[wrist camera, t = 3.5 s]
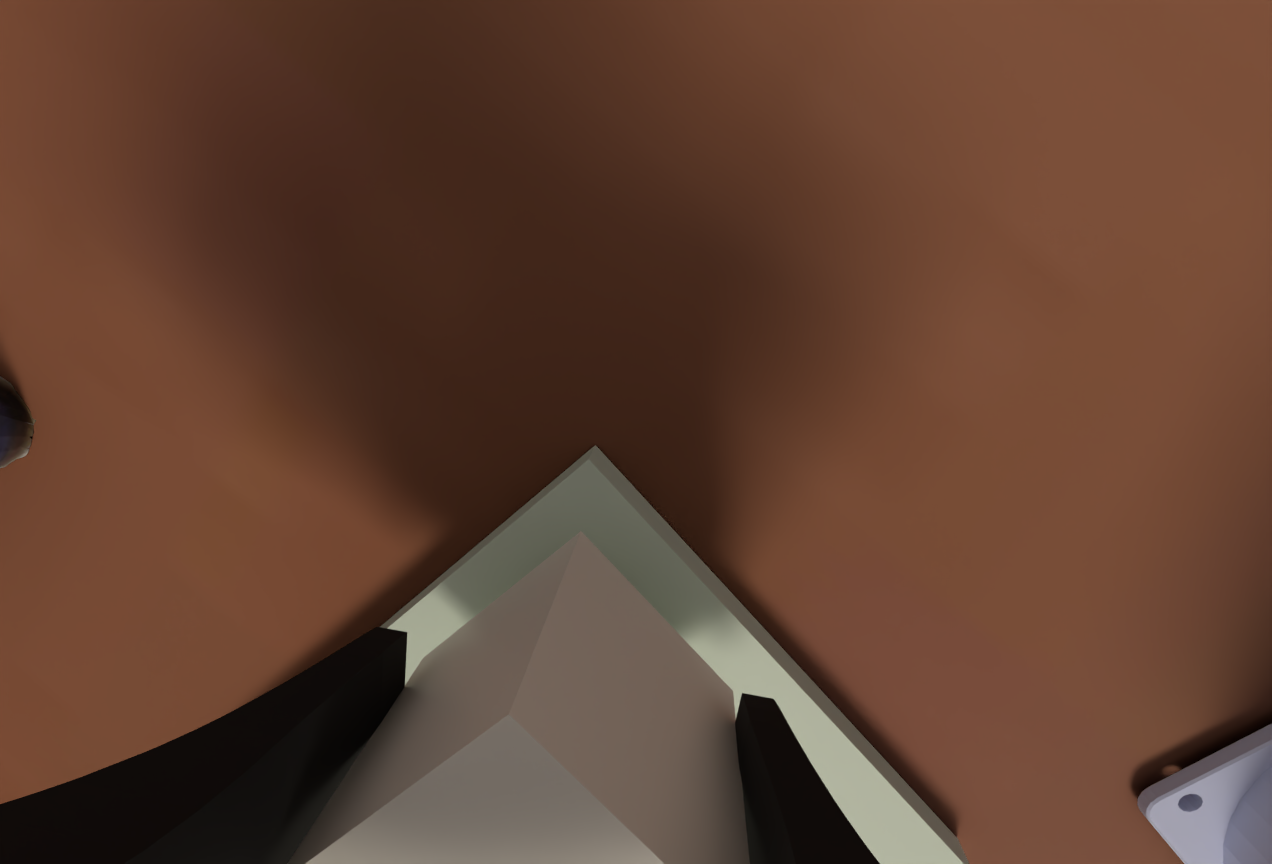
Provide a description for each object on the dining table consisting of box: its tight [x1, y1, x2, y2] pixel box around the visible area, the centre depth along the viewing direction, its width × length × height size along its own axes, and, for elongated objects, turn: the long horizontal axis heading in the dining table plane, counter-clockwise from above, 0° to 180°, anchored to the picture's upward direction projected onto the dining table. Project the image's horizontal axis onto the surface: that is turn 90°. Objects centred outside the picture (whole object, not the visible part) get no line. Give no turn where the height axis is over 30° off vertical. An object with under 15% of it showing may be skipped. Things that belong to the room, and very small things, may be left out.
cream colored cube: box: [287, 531, 750, 864], centre depth 11 cm, size 5×5×5 cm
